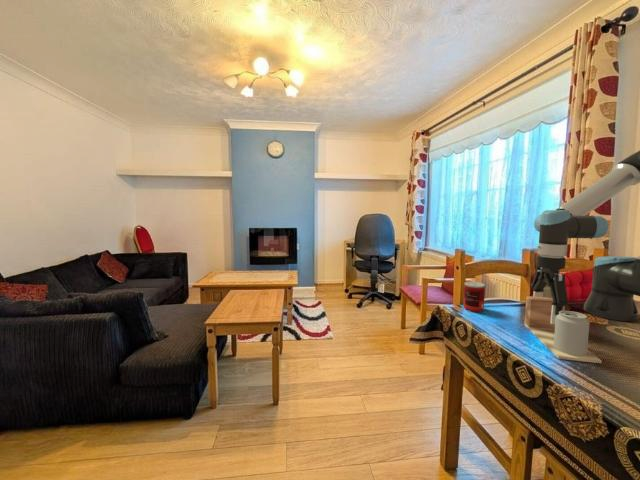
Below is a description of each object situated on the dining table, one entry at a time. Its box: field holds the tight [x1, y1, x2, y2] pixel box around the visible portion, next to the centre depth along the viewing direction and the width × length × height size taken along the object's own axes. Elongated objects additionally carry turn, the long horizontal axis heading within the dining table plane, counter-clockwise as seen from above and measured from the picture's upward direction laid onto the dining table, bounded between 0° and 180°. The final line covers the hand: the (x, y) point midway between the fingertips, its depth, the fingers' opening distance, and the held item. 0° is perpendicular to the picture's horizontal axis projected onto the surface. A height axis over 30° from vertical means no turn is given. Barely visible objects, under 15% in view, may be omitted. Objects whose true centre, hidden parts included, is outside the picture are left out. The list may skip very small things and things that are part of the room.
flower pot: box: [532, 284, 552, 298], centre depth 124 cm, size 9×9×9 cm
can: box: [554, 310, 590, 356], centre depth 85 cm, size 8×8×12 cm
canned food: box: [463, 281, 486, 313], centre depth 121 cm, size 8×8×11 cm
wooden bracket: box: [523, 295, 602, 364], centre depth 92 cm, size 24×10×11 cm, turn 164°
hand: (545, 316), depth 100 cm, fingers open, 13 cm apart
